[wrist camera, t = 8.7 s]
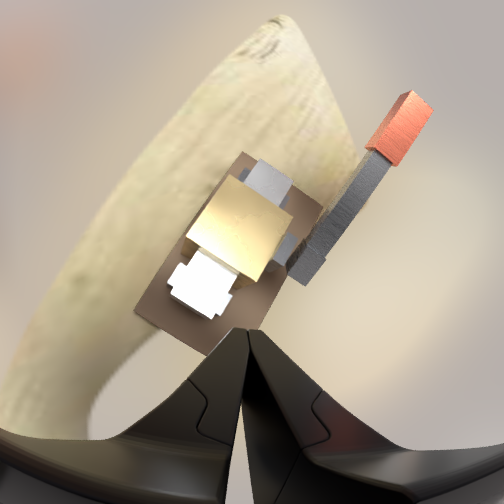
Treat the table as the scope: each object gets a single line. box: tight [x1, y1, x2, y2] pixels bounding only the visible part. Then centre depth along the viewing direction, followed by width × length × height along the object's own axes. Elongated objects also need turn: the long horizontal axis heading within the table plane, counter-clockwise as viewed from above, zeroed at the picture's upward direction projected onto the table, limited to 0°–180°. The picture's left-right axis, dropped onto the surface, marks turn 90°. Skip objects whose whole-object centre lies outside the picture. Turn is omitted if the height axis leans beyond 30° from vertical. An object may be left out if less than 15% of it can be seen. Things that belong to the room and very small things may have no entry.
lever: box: [285, 90, 433, 286], centre depth 16 cm, size 2×2×12 cm
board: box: [133, 151, 323, 356], centre depth 22 cm, size 14×8×1 cm, turn 150°
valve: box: [167, 159, 298, 319], centre depth 19 cm, size 10×5×5 cm, turn 150°
